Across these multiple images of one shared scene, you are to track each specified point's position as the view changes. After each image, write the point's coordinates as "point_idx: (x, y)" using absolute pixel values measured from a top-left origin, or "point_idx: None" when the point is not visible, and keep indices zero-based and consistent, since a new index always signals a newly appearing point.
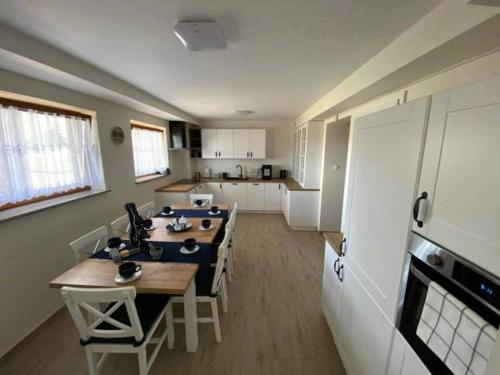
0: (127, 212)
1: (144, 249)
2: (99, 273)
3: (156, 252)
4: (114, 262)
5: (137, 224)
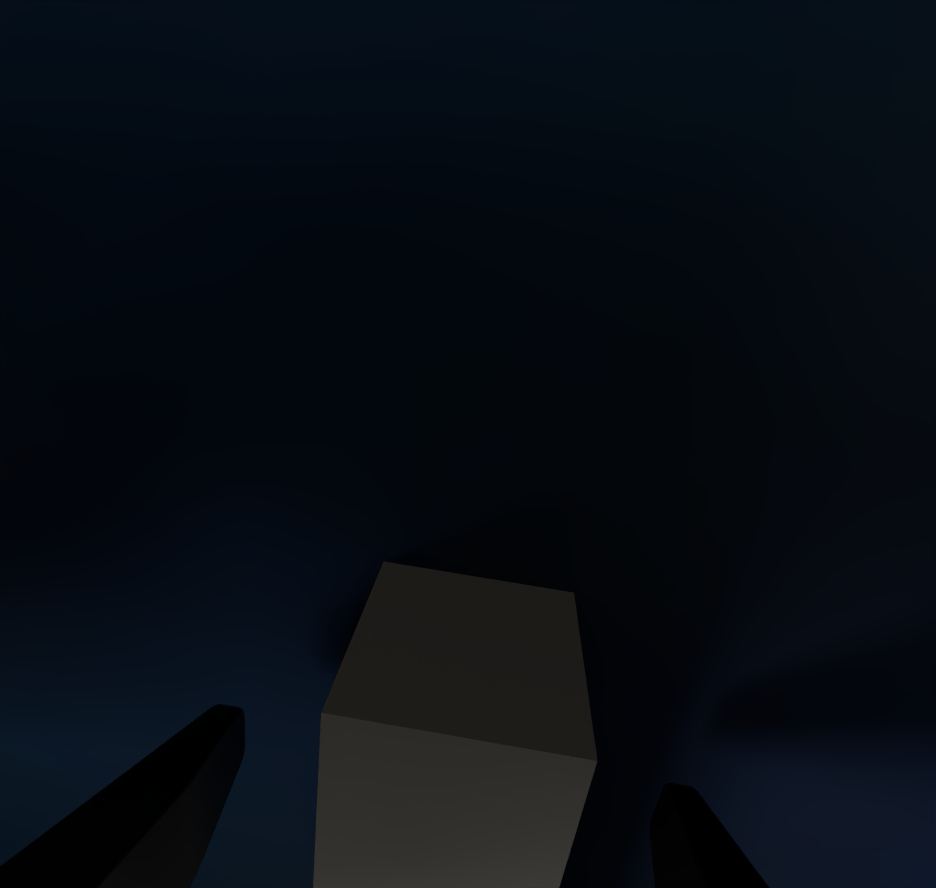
0: None
1: (574, 647)
2: None
3: None
4: None
5: None
